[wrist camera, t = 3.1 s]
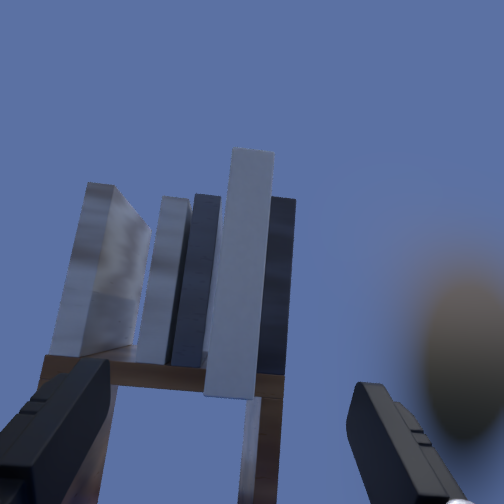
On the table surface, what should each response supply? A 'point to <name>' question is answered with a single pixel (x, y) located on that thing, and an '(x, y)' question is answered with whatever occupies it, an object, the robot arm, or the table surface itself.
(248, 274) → the white book
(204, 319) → the book stand
